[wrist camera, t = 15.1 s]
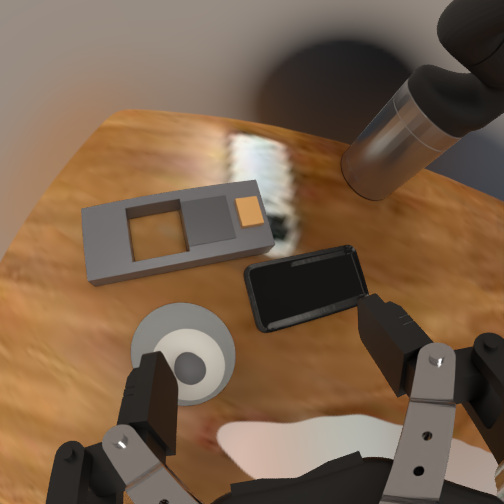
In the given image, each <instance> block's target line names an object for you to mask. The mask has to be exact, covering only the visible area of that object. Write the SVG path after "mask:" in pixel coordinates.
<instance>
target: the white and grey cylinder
mask: <svg viewBox="0 0 504 504" xmlns="http://www.w3.org/2000/svg"><path fill="white" fill-rule="evenodd" d="M156 351H161V352H162V353H163V355H164V357H165V358H166V360H167V362H168V364H169V366H170V368H171V370H172V371H173V373H174V375H175V377H176V380H177V383H178V390H179V391H178V399H181V400H187V401H191V400H198V399H202V398H204V397H206V396H208V395H210V394H211V393H212V392H213V391H215V390H216V388H217V387H218V386H219V384H220V383H221V381H222V379H223V376H224V371H225V361H224V356H223V353H222V351H221V349H220V347H219V346H218V344H217V343H216V342H215V341H214V340H213V339H212V338H211V337H210V336H208V335H207V334H205V333H203V332H201V331H198V330H194V329H179V330H176V331H173V332H171V333H169V334H167V335H166V336H164V337H163V338H162V339H161V340H160V341H159V342H158V344H157V345H156V347H155V349H154V351H153V352H156Z"/></svg>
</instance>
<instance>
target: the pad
mask: <svg viewBox="0 0 504 504" xmlns="http://www.w3.org/2000/svg"><path fill="white" fill-rule="evenodd" d="M179 329H194V330H198V331H201V332H203V333H205V334H207V335H208V336H210V337H211V338H212V339H213V340H214V341H215V342H216V343H217V344H218V346H219V347H220V349H221V351H222V353H223V356H224V361H225V371H224V376H223V379H222V381H221V383H220V384H219V386H218V387H217V388H216V390H215V391H213V392H212V393H211V394H210V395H208V396H206V397H204V398H202V399H198V400H191V401H187V400H181V399H178V405H180V406H191V405H197V404H200V403H204V402H206V401H208V400H210V399H212V398H213V397H215V396H216V395H217V394H218V393H220V392H221V391H222V390H223V388H224V387H225V386H226V385H227V383H228V382H229V380H230V378H231V376H232V373H233V370H234V366H235V357H236V356H235V346H234V342H233V339H232V336H231V334H230V332H229V330H228V329H227V327H226V326H225V324H224V323H223V322H222V321H221V320H220V319H219V318H218V317H217V316H216V315H215V314H214V313H212V312H211V311H209V310H207V309H205V308H203V307H201V306H198V305H195V304H190V303H173V304H168V305H164V306H162V307H160V308H157V309H156V310H154V311H152V312H151V313H150V314H149V315H147V316H146V317H145V318H144V319H143V320H142V322H141V323H140V324H139V326H138V328H137V329H136V331H135V334H134V336H133V340H132V344H131V360H132V366H133V369H134V368H137V367H139V365H140V361H141V357H142V355H143V354H146V353H151V352H153V351H154V349H155V347H156V345H157V344H158V342H159V341H160V340H161V339H162V338H163V337H164V336H166V335H167V334H169V333H171V332H173V331H176V330H179Z"/></svg>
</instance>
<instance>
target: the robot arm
mask: <svg viewBox="0 0 504 504" xmlns="http://www.w3.org/2000/svg"><path fill="white" fill-rule="evenodd" d="M437 35H438V38H439V41H440V43H441V44H442V45H443V47H444V48H445V49H446V50H447V51H448V52H449V53H450V54H451V55H452V56H453V57H454V58H455V59H456V60H458V61H459V62H460V63H461V64H462V65H463V66H464V67H466V68H467V69H468V70H469V71H470V72H471V73H468V74H466V73H456V72H452V71H448V70H445V69H442V68H440V67H437V66H434V65H422V66H420V67H418V68H417V69H416V70H415V71H414V73H413V74H412V75H411V76H410V77H409V79H408V80H407V81H406V82H405V83H404V84H403V85H402V87H401V88H400V89H399V90H398V91H397V93H396V94H395V95H394V96H393V97H392V99H391V100H390V101H389V102H388V103H387V105H386V106H385V107H384V108H383V109H382V110H381V111H380V113H378V115H377V116H376V117H375V118H374V119H373V121H372V122H371V123H370V124H369V125H368V126H367V127H366V129H365V130H364V131H363V132H362V133H361V134H360V136H359V137H358V138H357V139H356V140H355V141H354V142H353V144H352V145H351V146H350V147H349V148H348V150H347V151H346V152H345V153H344V154H343V157H342V160H341V167H342V172H343V175H344V177H345V179H346V181H347V182H348V183H349V185H350V186H351V187H352V188H353V189H354V190H355V191H356V192H357V193H358V194H360V195H361V196H363V197H365V198H367V199H370V200H382V199H384V198H385V197H387V196H388V195H389V194H391V193H392V192H393V191H395V190H396V189H397V188H399V187H400V186H401V185H403V184H404V183H405V182H407V181H408V180H409V179H410V178H412V177H413V176H414V175H416V174H417V173H418V172H419V171H421V170H422V169H423V168H425V167H426V166H427V165H428V164H430V163H431V162H432V161H434V160H435V159H436V158H437V157H439V156H440V155H441V154H442V153H444V152H445V151H446V150H447V149H448V148H450V147H451V146H452V145H453V144H455V143H456V142H457V141H458V140H460V139H461V138H462V137H463V136H465V135H466V134H467V133H469V132H471V131H475V130H478V129H481V128H483V127H484V126H486V125H487V124H489V123H490V122H491V121H493V120H494V119H496V118H497V117H498V116H500V115H501V114H503V113H504V0H454V1H452V2H451V3H450V4H449V5H448V6H447V8H446V9H445V10H444V12H443V13H442V15H441V16H440V18H439V21H438V25H437ZM357 307H358V330H359V335H360V338H361V340H362V342H363V344H364V346H365V347H366V349H367V350H368V352H369V353H370V355H371V356H372V358H373V359H374V361H375V363H376V364H377V366H378V367H379V369H380V370H381V372H382V374H383V375H384V377H385V378H386V380H387V382H388V383H389V385H390V386H391V388H392V390H393V391H394V393H395V394H396V396H397V398H398V397H400V396H402V395H404V394H407V395H408V397H409V398H410V399H409V403H408V408H407V412H406V416H405V420H404V424H403V428H402V432H401V436H400V439H399V443H398V446H397V449H396V453H395V456H394V459H393V460H392V459H389V458H383V457H366V458H362V457H361V455H360V452H359V451H357V452H355V453H352V454H349V455H346V456H343V457H340V458H337V459H334V460H331V461H328V462H326V463H324V464H323V465H321V466H319V467H317V468H316V469H314V470H312V471H310V472H308V473H306V474H304V475H302V476H300V477H297V478H279V479H263V478H262V479H257V480H252V481H246V482H240V483H234V484H230V485H231V492H229V493H227V494H225V495H223V496H221V497H219V498H218V499H216V500H215V501H213V502H212V503H211V504H504V339H503V338H502V337H501V336H499V335H497V334H495V333H483V334H481V335H479V336H478V337H477V338H476V339H475V341H474V345H473V347H468V348H463V349H458V350H453V349H452V348H451V347H450V346H448V345H446V344H443V343H434V342H433V341H432V340H431V339H430V338H429V337H428V335H427V334H426V333H425V332H424V331H423V330H422V329H421V328H420V327H419V325H418V324H417V323H416V322H415V321H413V319H412V318H411V317H410V316H409V315H408V314H407V312H406V311H405V310H404V309H403V308H402V307H401V306H399V305H397V304H395V303H393V302H391V301H389V302H387V303H384V302H383V300H382V299H381V298H380V297H379V296H378V295H377V294H372V295H369V296H366V297H363V298H360V299H358V302H357ZM125 388H126V389H125V390H124V394H123V396H124V397H123V399H122V403H121V407H120V412H119V417H118V421H117V426H114V427H112V428H111V429H110V430H108V431H107V432H106V434H105V435H104V437H103V440H102V442H100V443H98V444H95V445H92V446H88V447H85V448H84V447H83V446H82V445H81V444H80V443H79V442H77V441H68V442H66V443H64V444H62V445H61V446H60V447H59V449H58V450H57V452H56V455H55V459H54V463H53V468H52V473H51V477H50V482H49V488H48V493H47V499H46V504H123V491H125V490H126V492H127V494H128V495H129V497H130V498H131V500H132V501H133V502H134V504H204V503H203V502H202V501H201V500H200V499H199V498H198V497H197V496H196V495H195V494H194V493H193V492H192V491H191V490H190V489H189V488H188V487H187V486H186V485H185V484H184V483H183V482H182V481H181V480H180V479H179V478H178V477H177V476H176V475H175V474H174V472H173V471H172V470H171V469H170V468H169V467H168V466H167V465H166V464H165V463H166V456H171V455H176V430H177V409H178V391H179V390H178V383H177V380H176V377H175V375H174V373H173V371H172V370H171V368H170V366H169V364H168V362H167V360H166V358H165V357H164V355H163V353H162V352H161V351H156V352H151V353H146V354H143V355H142V357H141V361H140V365H139V367H137V368H134V369H133V370H132V372H131V373H130V375H129V376H128V378H127V382H126V386H125ZM459 403H462V405H463V407H464V408H465V410H466V411H467V413H468V414H469V416H470V418H471V419H472V421H473V422H474V424H475V426H476V427H477V429H478V430H479V432H480V434H481V435H482V437H483V439H484V440H485V442H486V444H487V445H488V447H489V449H490V451H491V452H492V454H493V455H494V457H495V459H496V461H497V463H498V467H497V469H496V472H495V482H496V487H497V496H494V495H492V494H488V493H484V492H481V491H478V490H475V489H471V488H468V487H465V486H462V485H459V484H456V483H453V482H450V481H447V480H445V479H444V476H445V472H446V467H447V463H448V457H449V452H450V446H451V440H452V434H453V426H454V418H455V409H456V404H459ZM87 498H88V499H87Z"/></svg>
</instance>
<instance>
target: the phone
mask: <svg viewBox="0 0 504 504" xmlns="http://www.w3.org/2000/svg"><path fill="white" fill-rule="evenodd" d="M244 280H245V284H246V288H247V292H248V296H249V300H250V304H251V308H252V312H253V316H254V320H255V323H256V326H257V328H258V329H259V331H261V332H264V333H268V332H273V331H277V330H280V329H284V328H287V327H291V326H294V325H298V324H301V323H305V322H308V321H311V320H315V319H318V318H321V317H325V316H328V315H331V314H334V313H337V312H341V311H344V310H347V309H350V308H353V307H356V306H357V302H358V299H360V298H363V297H366V296H369V293H368V289H367V286H366V282H365V279H364V275H363V272H362V269H361V265H360V262H359V259H358V256H357V252H356V250H355V249H354V247H352V246H350V245H344V246H339V247H335V248H329V249H325V250H319V251H315V252H310V253H305V254H301V255H296V256H291V257H286V258H281V259H276V260H271V261H266V262H261V263H256V264H252V265H249V266H248V267H247V268H246V269H245V271H244Z"/></svg>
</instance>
